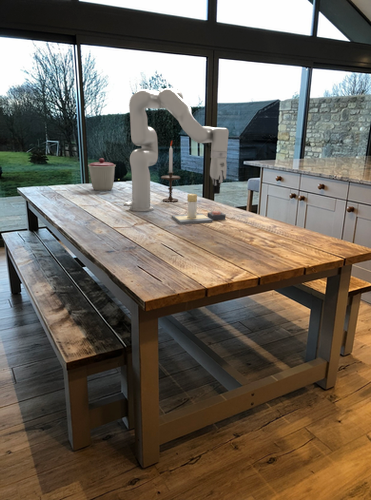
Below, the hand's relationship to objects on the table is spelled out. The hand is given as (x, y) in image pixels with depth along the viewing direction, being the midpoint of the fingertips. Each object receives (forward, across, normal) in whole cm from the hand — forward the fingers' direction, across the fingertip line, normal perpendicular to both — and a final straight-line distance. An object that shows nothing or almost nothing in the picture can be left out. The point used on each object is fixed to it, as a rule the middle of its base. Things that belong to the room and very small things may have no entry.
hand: (215, 193), depth 199 cm
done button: (+12, -1, -1) cm, 12 cm away
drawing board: (+13, -1, +12) cm, 18 cm away
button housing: (+12, -1, -1) cm, 12 cm away
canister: (+16, +97, +41) cm, 106 cm away
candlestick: (+14, +48, +8) cm, 50 cm away
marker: (+11, -1, +12) cm, 17 cm away
